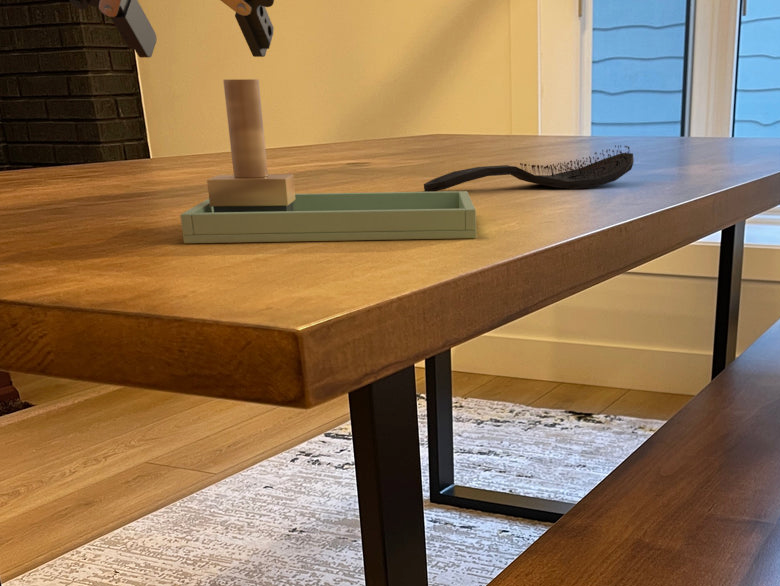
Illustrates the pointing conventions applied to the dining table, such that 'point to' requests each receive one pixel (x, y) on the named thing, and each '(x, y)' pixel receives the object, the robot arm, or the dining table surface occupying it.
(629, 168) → the hairbrush
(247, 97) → the scrub brush
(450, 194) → the tray
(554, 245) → the dining table surface
